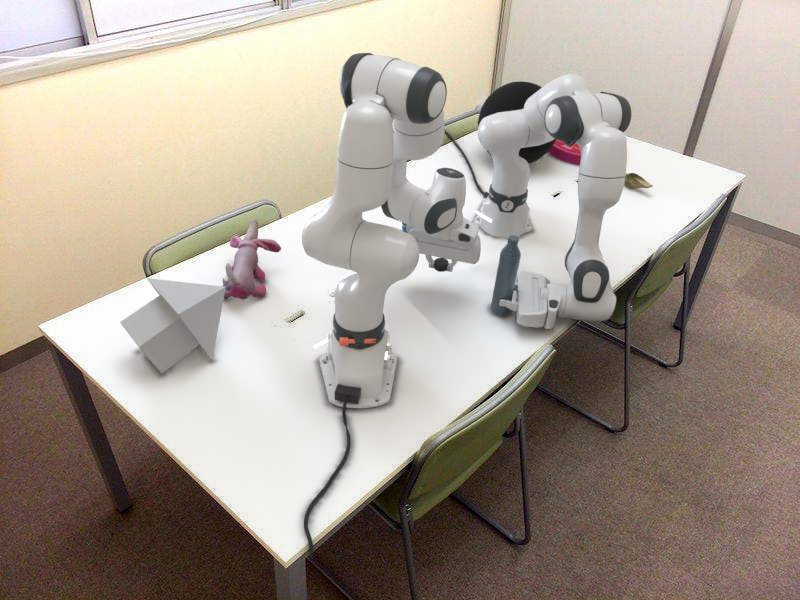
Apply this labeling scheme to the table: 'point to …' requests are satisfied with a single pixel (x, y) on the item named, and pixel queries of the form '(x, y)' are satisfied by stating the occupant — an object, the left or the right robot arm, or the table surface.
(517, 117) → the right robot arm
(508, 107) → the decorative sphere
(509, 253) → the bottle
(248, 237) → the toy
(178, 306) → the pyramid on cube
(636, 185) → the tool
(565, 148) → the sign
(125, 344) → the table surface
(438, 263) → the cap
